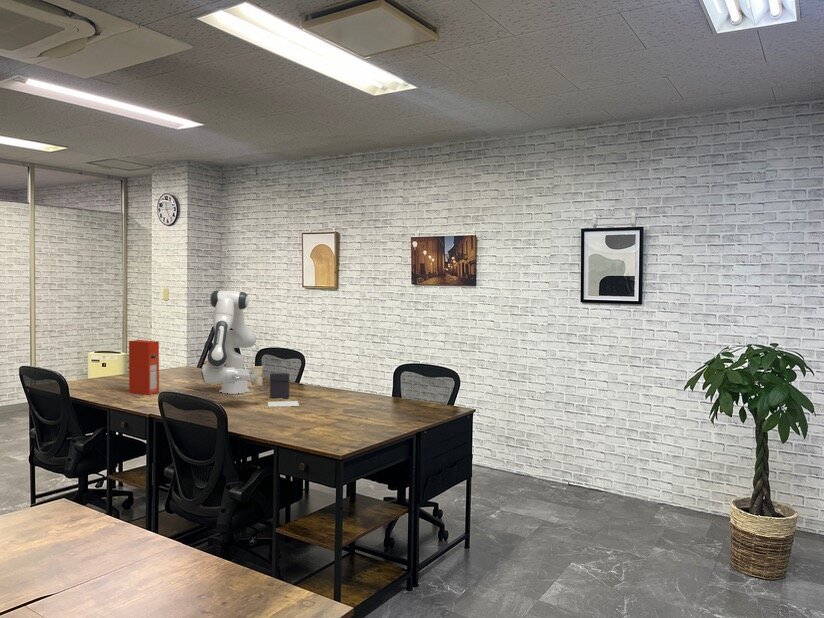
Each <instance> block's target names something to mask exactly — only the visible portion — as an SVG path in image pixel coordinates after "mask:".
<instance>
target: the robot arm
mask: <svg viewBox="0 0 824 618" xmlns="http://www.w3.org/2000/svg"><path fill="white" fill-rule="evenodd" d="M209 299H210V300H209V301H210V305H211V306H212V307H213V308H214V310H213V318H212V325H213V328H214V336H213V343H212V347H211V348H210V350H209V351H208V353H207V361H206V362H205V364H204V366H203V368H202V369H201V372H200V373H201V377H202V381H203V382H204V383H206V384H216V385H217V384H221V385H222V386H221V389H220V390H218V391H219V393H220V392H222V393H221V394H227V393H228V394H229V395H230V394H231V395H237V394H238V393H239V394H244V393H251V389H250V388H249V387H248V382H249V381H250V379H252V378H255V377H258V375H257V374H252V371H249V370H248V369H245V358H244V356H243V355H242V354H240V353H238V352H237V351H235V349H237V348H238V349H239V348H240V349H246V348H251V347H252V348H253V347H254V346H255V345H256V342H257V334H256V333H255V332H254V331H252V330H251V329H250V328H249V327H248V326H247V325H246V323H245V319H244V310H245V309H246V308H247V307H248V305H249V302H250V299H249V295H248V294H247V293H246V292H244V291H238V290H237V291H235V290H219V289H218V290H213V292H211V295H210V298H209ZM231 329H232V330H231Z"/></svg>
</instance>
